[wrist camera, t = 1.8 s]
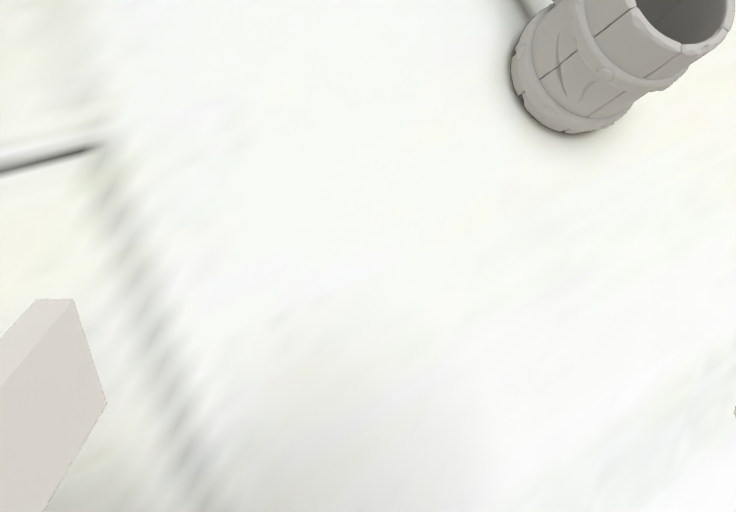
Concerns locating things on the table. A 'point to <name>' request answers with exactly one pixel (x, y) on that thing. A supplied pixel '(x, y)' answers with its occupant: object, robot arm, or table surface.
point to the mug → (610, 55)
